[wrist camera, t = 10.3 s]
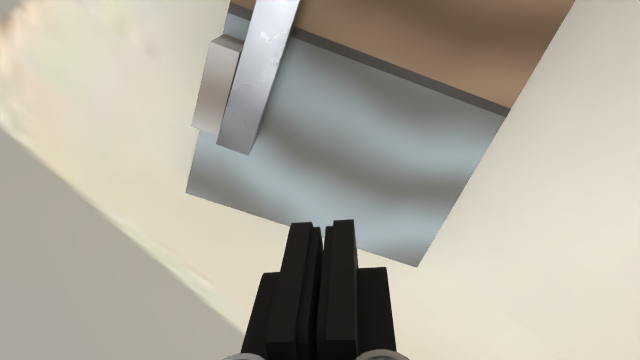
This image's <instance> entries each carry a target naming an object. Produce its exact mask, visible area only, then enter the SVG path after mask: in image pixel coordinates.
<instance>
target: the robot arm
mask: <svg viewBox="0 0 640 360" xmlns="http://www.w3.org/2000/svg"><path fill="white" fill-rule="evenodd" d="M223 360H409V359H408V358H407V357H405V356H403V355H402V354H400V353H398V352H397V351H396V343H395V335H394V326H393V318H392V310H391V302H390V293H389V285H388V277H387V269H386V267H376V268H358V259H357V248H356V236H355V225H354V219H347V220H334V221H333V226H326V229H325V240H324V250H323V242H322V235H321V229H320V227H313V223H312V222H298V223H291V226H290V230H289V234H288V239H287V243H286V248H285V252H284V257H283V261H282V266H281V270H280V272H272V273H264V274H263V275H262V278H261V281H260V285H259V288H258V292H257V295H256V299H255V302H254V306H253V310H252V313H251V317H250V320H249V324H248V327H247V331H246V335H245V339H244V342H243V345H242V349H241V353H239V354H235V355H232V356H228V357H227V358H225V359H223Z"/></svg>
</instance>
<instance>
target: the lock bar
mask: <svg viewBox="0 0 640 360" xmlns="http://www.w3.org/2000/svg"><path fill="white" fill-rule="evenodd" d="M302 3H303V0H257V1H256V4H255V8H254V11H253V15H252V18H251V22H250V25H249V29H248V33H247V36H246V40H245V43H244V47H243V50H242V54H241V57H240V61H239V64H238V68H237V71H236V75H235V78H234V82H233V85H232V89H231V92H230V96H229V99H228V103H227V106H226V110H225V113H224V117H223V120H222V124H221V127H220V131H219V134H218V138H217V141H216V144H217V145H220V146H222V147H225V148H228V149H231V150H234V151H236V152H239V153H242V154H245V155H247V156H249V154H250V152H251V150H252V148H253V146H254V144H255V142H256V140H257V138H258V135H259V132H260V129H261V126H262V123H263V120H264V117H265V114H266V111H267V108H268V105H269V102H270V99H271V96H272V93H273V90H274V87H275V84H276V81H277V78H278V75H279V72H280V69H281V66H282V63H283V60H284V57H285V54H286V51H287V48H288V45H289V42H290V39H291V36H292V33H293V30H294V27H295V24H296V21H297V18H298V15H299V12H300V9H301V6H302Z"/></svg>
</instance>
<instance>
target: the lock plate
mask: <svg viewBox="0 0 640 360" xmlns="http://www.w3.org/2000/svg"><path fill="white" fill-rule="evenodd" d="M256 1H257V0H231V1H230V5H229V9H228V14H227V18H226V22H225V27H224V31H223V35H222V36H220V37H218V38H216V39H215V40H213V41H211V42H210V46H209V50H208V54H207V59H206V63H205V68H204V72H203V77H202V81H201V86H200V90H199V95H198V99H197V104H196V108H195V113H194V117H193V122H192V127H195V128H197V129H200V133H199V137H198V141H197V146H196V150H195V154H194V158H193V163H192V167H191V171H190V175H189V180H188V184H187V188H186V192H185V193H188V194H191V195H194V196H197V197H200V198H203V199H206V200H209V201H212V202H215V203H219V204H222V205H225V206H228V207H231V208H234V209H237V210H240V211H243V212H246V213H250V214H253V215H256V216H259V217H262V218H265V219H268V220H271V221H274V222H277V223H280V224H284V225H287V226H291V223H298V222H312V223H313V227H320V229H321V235H322V237H324V238H325V229H326V226H333V221H334V220H347V219H354V225H355V236H356V248H358V249H361V250H364V251H367V252H370V253H373V254H376V255H380V256H383V257H386V258H389V259H392V260H395V261H398V262H401V263H404V264H407V265H411V266H414V267H418V265H419V263H420V262H421V260H422V258H423V256H424V255H425V253H426V251H427V250H428V248H429V246H430V245H431V243H432V241H433V240H434V238H435V236H436V234H437V233H438V231H439V229H440V228H441V226H442V224H443V223H444V221H445V219H446V218H447V216H448V214H449V213H450V211H451V209H452V207H453V206H454V204H455V202H456V201H457V199H458V197H459V196H460V194H461V192H462V191H463V189H464V187H465V186H466V184H467V182H468V180H469V179H470V177H471V175H472V174H473V172H474V170H475V169H476V167H477V165H478V164H479V162H480V160H481V158H482V157H483V155H484V153H485V152H486V150H487V148H488V147H489V145H490V143H491V142H492V140H493V138H494V137H495V135H496V133H497V131H498V130H499V128H500V126H501V125H502V123H503V121H504V120H505V118H506V117H507V115H508V113H509V112H510V110H511V108H512V106H513V104H514V103H515V101H516V99H517V98H518V96H519V94H520V93H521V91H522V89H523V88H524V86H525V84H526V82H527V81H528V79H529V77H530V76H531V74H532V72H533V71H534V69H535V67H536V66H537V64H538V62H539V61H540V59H541V57H542V55H543V54H544V52H545V50H546V49H547V47H548V45H549V44H550V42H551V40H552V39H553V37H554V35H555V34H556V32H557V30H558V28H559V27H560V25H561V23H562V22H563V20H564V18H565V17H566V15H567V13H568V12H569V10H570V8H571V7H572V5H573V3H574V1H575V0H303V3H302V6H301V9H300V12H299V15H298V18H297V21H296V24H295V27H294V30H293V33H292V36H291V39H290V42H289V45H288V48H287V51H286V54H285V57H284V60H283V63H282V66H281V69H280V72H279V75H278V78H277V81H276V84H275V87H274V90H273V93H272V96H271V99H270V102H269V105H268V108H267V111H266V114H265V117H264V120H263V123H262V126H261V129H260V132H259V135H258V138H257V140H256V142H255V144H254V146H253V148H252V150H251V152H250V154H249V156H247V155H245V154H242V153H239V152H236V151H234V150H231V149H228V148H225V147H222V146H220V145H217V144H216V141H217V138H218V134H219V131H220V127H221V124H222V120H223V117H224V113H225V110H226V106H227V103H228V99H229V96H230V92H231V89H232V85H233V82H234V78H235V75H236V71H237V68H238V64H239V61H240V57H241V54H242V50H243V47H244V43H245V40H246V36H247V33H248V29H249V25H250V22H251V18H252V15H253V11H254V8H255V4H256Z"/></svg>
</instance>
